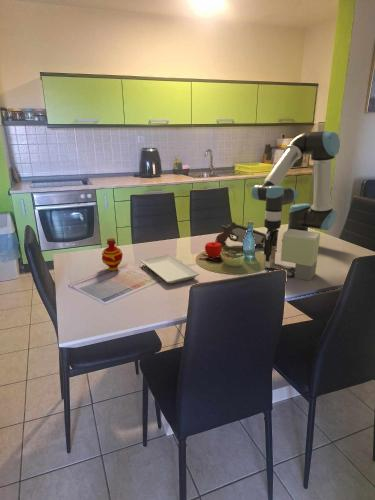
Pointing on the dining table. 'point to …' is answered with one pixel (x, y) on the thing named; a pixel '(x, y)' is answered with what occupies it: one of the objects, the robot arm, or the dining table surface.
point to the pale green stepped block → (301, 252)
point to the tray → (170, 268)
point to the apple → (213, 249)
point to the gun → (239, 235)
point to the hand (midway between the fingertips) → (269, 265)
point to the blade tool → (273, 265)
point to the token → (289, 273)
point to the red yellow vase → (112, 255)
